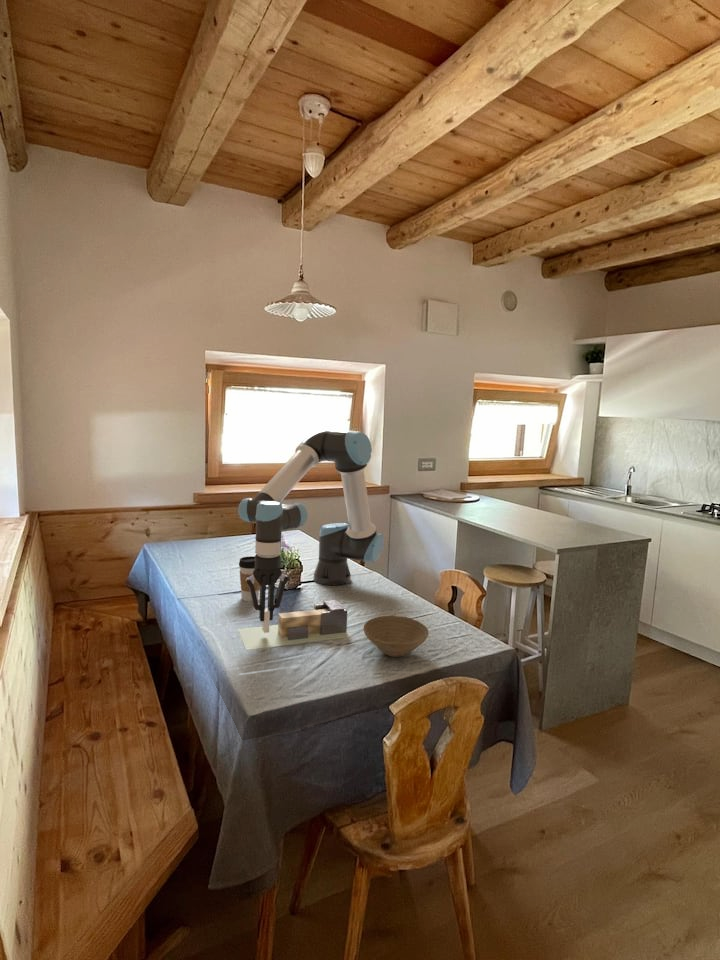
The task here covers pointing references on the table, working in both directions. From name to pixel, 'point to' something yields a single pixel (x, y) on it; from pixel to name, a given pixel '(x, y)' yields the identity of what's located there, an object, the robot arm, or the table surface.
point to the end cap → (332, 617)
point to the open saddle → (297, 632)
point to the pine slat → (300, 621)
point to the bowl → (395, 634)
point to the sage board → (278, 637)
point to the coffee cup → (246, 571)
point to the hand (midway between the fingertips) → (265, 630)
